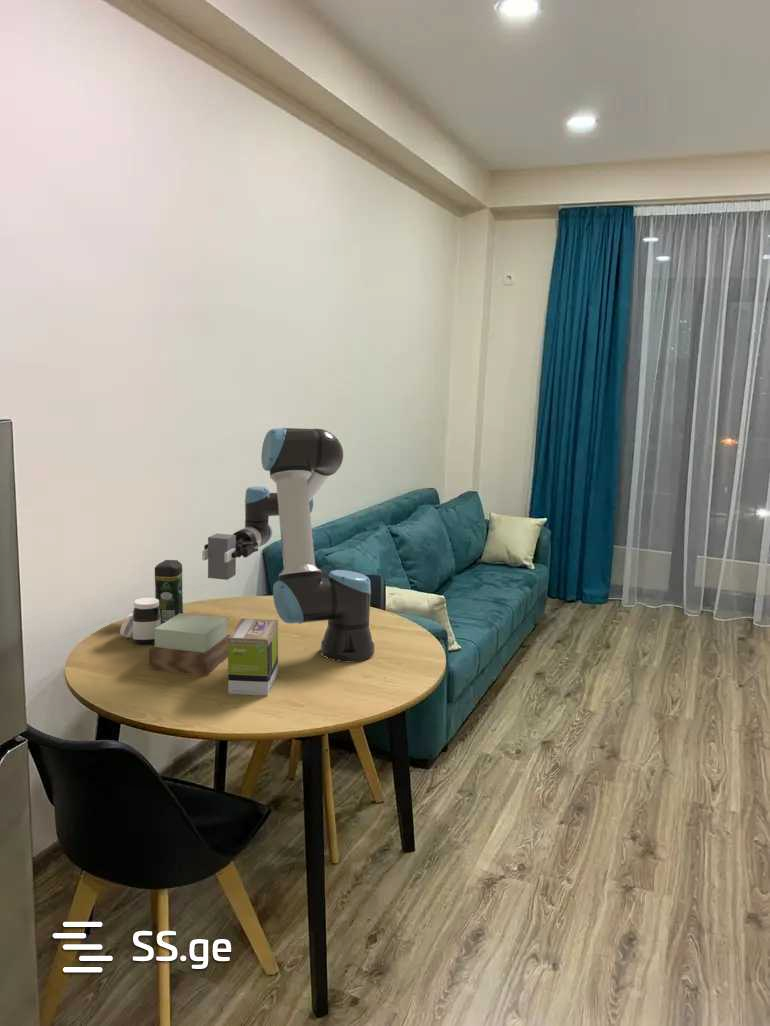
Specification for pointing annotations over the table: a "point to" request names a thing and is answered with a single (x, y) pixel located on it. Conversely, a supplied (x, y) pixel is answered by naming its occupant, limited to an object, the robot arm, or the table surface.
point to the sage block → (191, 632)
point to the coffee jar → (169, 588)
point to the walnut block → (188, 659)
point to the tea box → (253, 657)
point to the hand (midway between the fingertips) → (214, 556)
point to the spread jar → (143, 621)
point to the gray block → (221, 556)
